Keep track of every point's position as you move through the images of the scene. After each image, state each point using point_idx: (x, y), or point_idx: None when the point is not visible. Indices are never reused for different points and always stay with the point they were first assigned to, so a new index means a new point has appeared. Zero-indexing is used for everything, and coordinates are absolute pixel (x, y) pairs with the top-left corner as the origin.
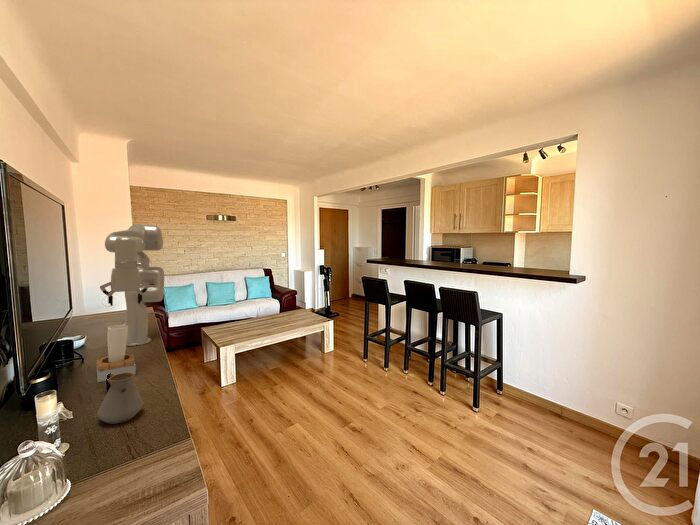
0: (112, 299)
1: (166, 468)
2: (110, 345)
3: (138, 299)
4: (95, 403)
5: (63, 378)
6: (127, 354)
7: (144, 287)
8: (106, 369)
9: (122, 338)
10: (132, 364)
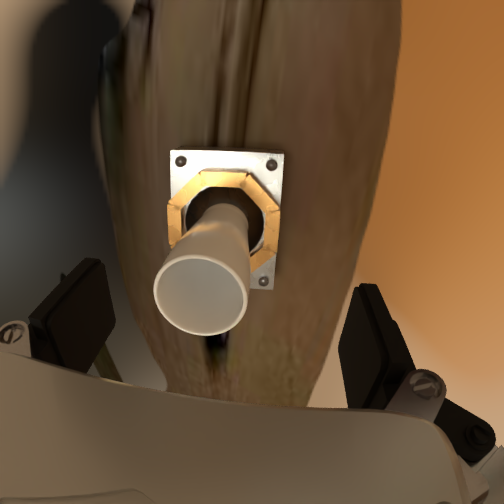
0: (88, 365)
1: None
2: (189, 275)
3: (344, 383)
4: (187, 365)
5: (109, 180)
6: (262, 199)
7: (472, 473)
8: None
9: (227, 301)
10: (264, 286)
